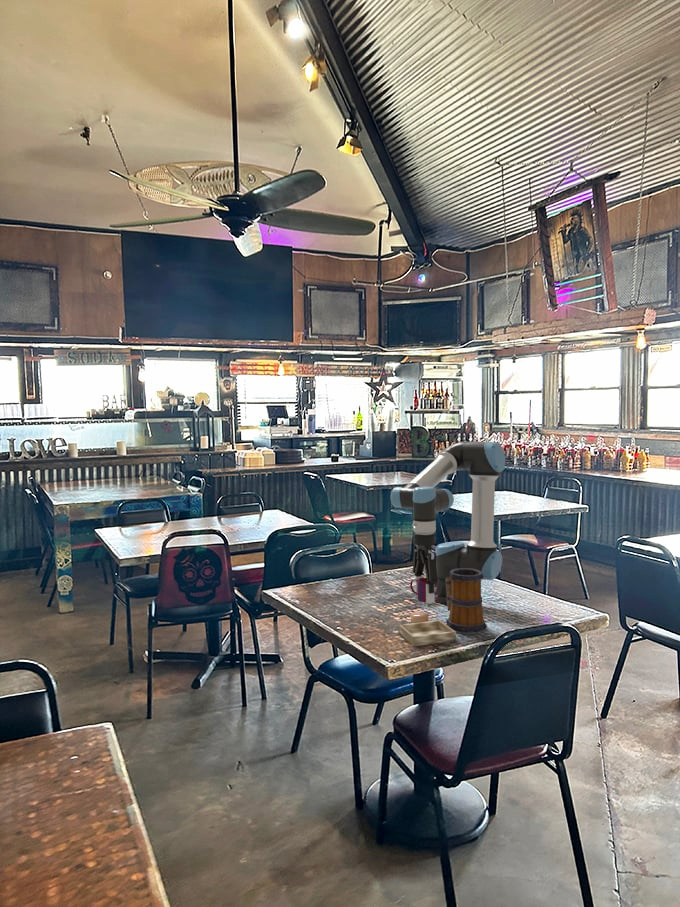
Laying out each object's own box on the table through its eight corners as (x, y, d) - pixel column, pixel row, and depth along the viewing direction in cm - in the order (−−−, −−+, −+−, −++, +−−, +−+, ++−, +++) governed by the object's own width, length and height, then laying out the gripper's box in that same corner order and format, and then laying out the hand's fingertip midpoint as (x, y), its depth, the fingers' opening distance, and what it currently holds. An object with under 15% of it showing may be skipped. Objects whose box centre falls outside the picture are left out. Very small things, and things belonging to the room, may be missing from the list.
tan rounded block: (424, 620, 234) (424, 611, 233) (431, 626, 228) (431, 616, 227) (408, 622, 232) (407, 612, 232) (414, 628, 226) (414, 618, 225)
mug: (430, 620, 234) (430, 566, 233) (463, 614, 240) (463, 562, 238) (460, 636, 216) (460, 579, 215) (495, 630, 222) (495, 574, 221)
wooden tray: (439, 628, 225) (439, 620, 224) (456, 640, 213) (456, 631, 212) (398, 633, 220) (398, 625, 220) (413, 646, 208) (412, 637, 208)
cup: (429, 603, 211) (429, 583, 210) (405, 598, 218) (405, 578, 217) (441, 599, 215) (441, 579, 215) (417, 593, 222) (417, 574, 222)
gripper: (402, 528, 223) (403, 591, 225) (426, 539, 203) (427, 608, 205) (422, 526, 225) (422, 589, 227) (448, 537, 205) (448, 606, 207)
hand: (424, 598), depth 216 cm, fingers closed on cup, 8 cm apart
